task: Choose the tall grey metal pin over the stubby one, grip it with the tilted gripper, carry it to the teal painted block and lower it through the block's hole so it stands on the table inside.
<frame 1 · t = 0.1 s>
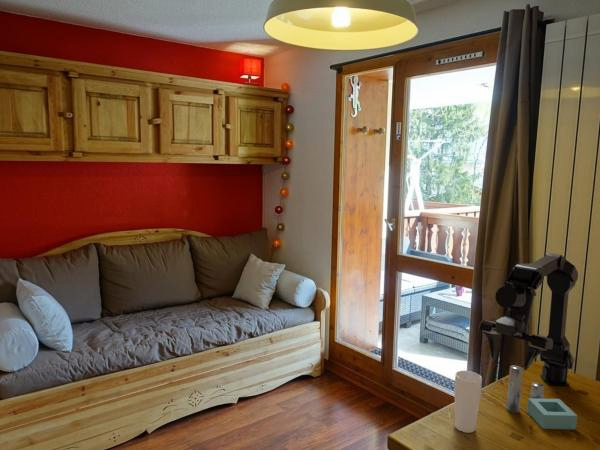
hand: (508, 364, 132), 15 cm above the table, tool pointing down, fingers open, 9 cm apart
short pin: (536, 398, 145), on the table
hole block: (550, 420, 133), on the table
tall pin: (512, 410, 138), on the table
drinking glass: (464, 428, 128), on the table
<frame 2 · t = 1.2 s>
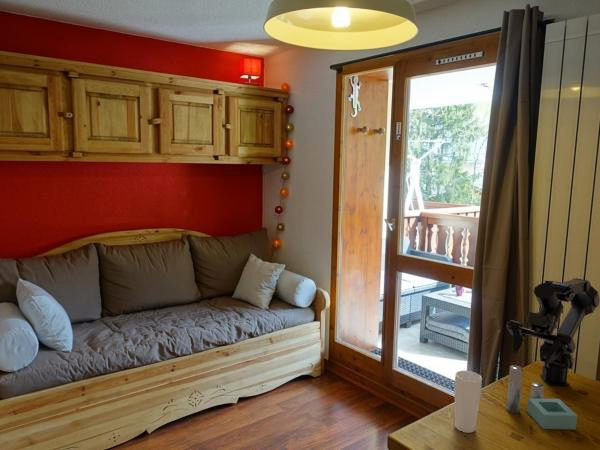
hand: (529, 359, 141), 13 cm above the table, tool tilted 45°, fingers open, 9 cm apart
nothing on the table moved.
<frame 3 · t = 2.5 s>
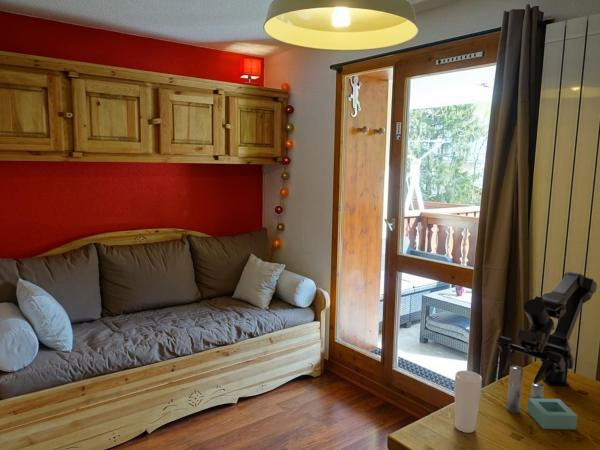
hand: (518, 377, 137), 10 cm above the table, tool tilted 45°, fingers open, 9 cm apart
nothing on the table moved.
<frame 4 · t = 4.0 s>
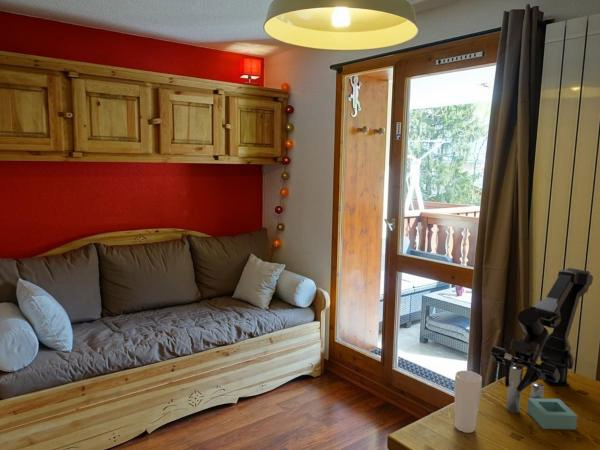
hand: (512, 388, 136), 7 cm above the table, tool tilted 45°, fingers closed on tall pin, 3 cm apart
tall pin: (512, 410, 138), on the table, touching gripper
everything else where it was.
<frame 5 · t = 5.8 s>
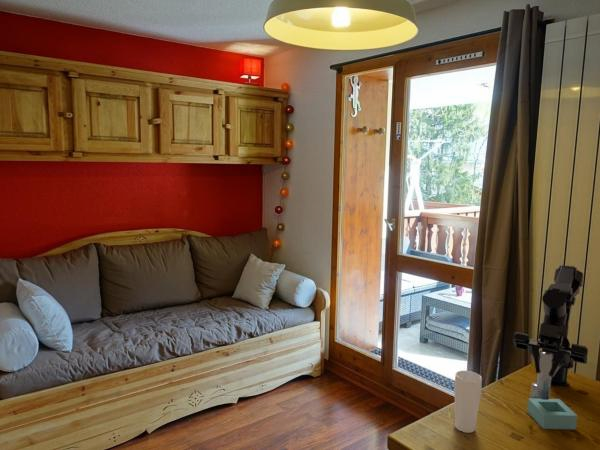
hand: (544, 374, 131), 13 cm above the table, tool tilted 45°, fingers closed on tall pin, 3 cm apart
tall pin: (542, 396, 133), point 6 cm above the table, touching gripper
everything else where it was.
when the fingers open (8 cm above the table, at t = 7.6 s): tall pin stays where it is, resting in hole block.
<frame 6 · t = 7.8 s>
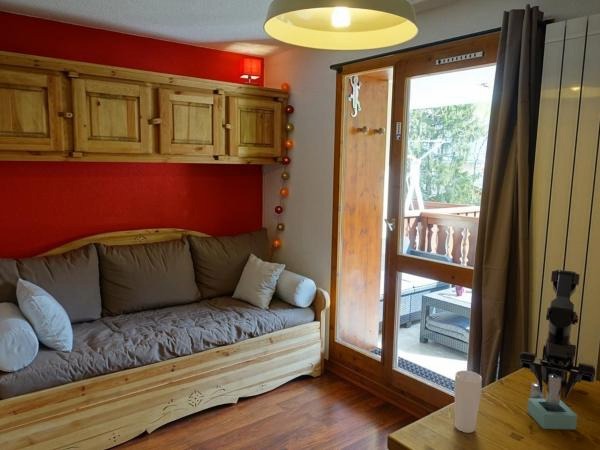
hand: (553, 395, 130), 8 cm above the table, tool tilted 45°, fingers open, 6 cm apart
tall pin: (550, 420, 133), resting in hole block
everything else where it was.
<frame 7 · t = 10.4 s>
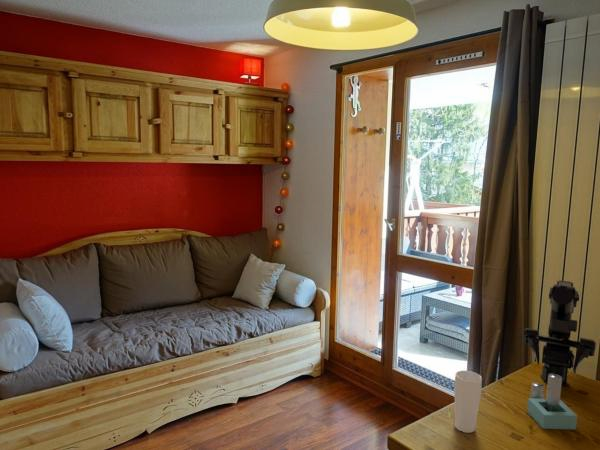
hand: (555, 368, 137), 12 cm above the table, tool tilted 45°, fingers open, 9 cm apart
nothing on the table moved.
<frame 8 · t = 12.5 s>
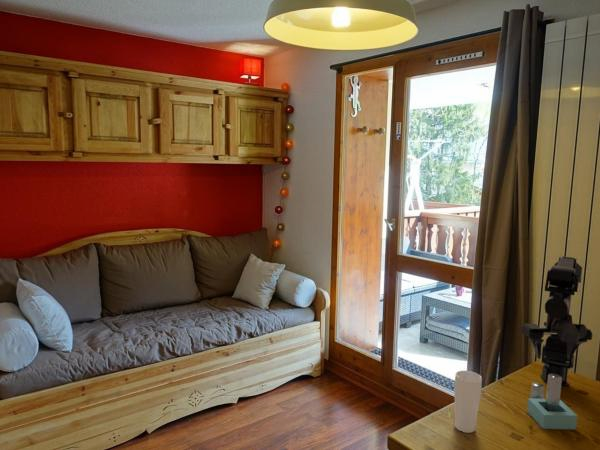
hand: (553, 358, 143), 13 cm above the table, tool pointing down, fingers open, 9 cm apart
nothing on the table moved.
at the end: tall pin 0.0 cm off-centre on the hole block, point 0.0 cm above the hole block's base; tall pin tilted 0°; short pin moved 0.0 cm from its start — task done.
